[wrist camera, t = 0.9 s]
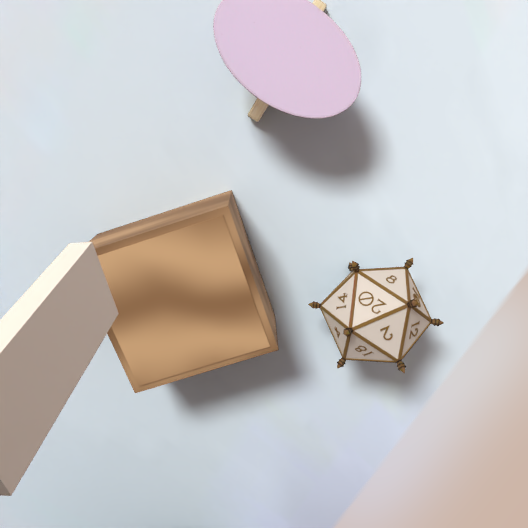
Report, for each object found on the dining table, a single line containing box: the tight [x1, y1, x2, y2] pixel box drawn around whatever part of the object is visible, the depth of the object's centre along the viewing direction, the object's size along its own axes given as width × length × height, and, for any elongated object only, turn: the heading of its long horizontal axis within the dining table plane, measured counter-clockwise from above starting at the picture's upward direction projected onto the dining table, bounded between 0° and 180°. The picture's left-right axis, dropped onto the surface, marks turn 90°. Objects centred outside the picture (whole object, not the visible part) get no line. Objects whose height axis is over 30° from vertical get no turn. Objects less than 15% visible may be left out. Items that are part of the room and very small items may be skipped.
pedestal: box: [89, 190, 279, 393], centre depth 37 cm, size 11×11×6 cm
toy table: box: [213, 0, 361, 122], centre depth 33 cm, size 10×9×6 cm
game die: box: [308, 258, 443, 373], centre depth 37 cm, size 9×8×10 cm
